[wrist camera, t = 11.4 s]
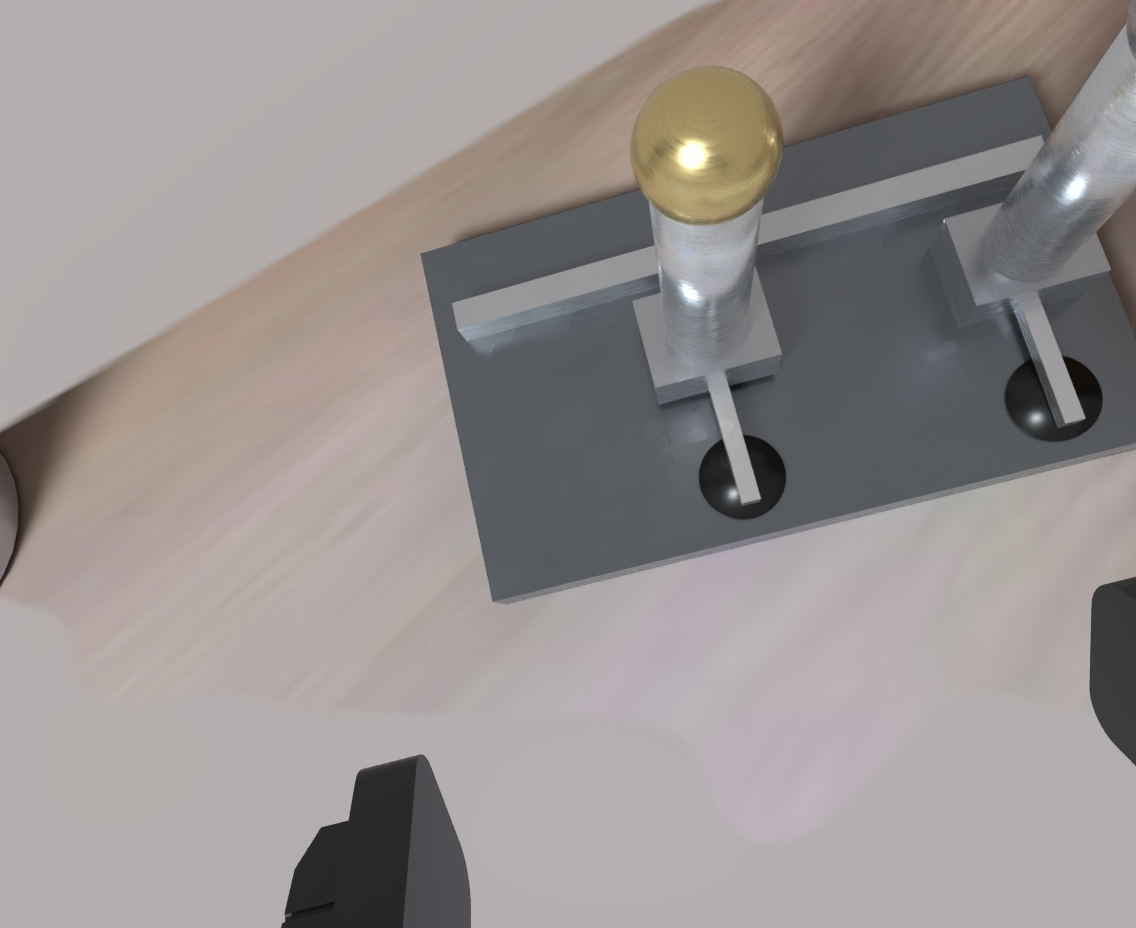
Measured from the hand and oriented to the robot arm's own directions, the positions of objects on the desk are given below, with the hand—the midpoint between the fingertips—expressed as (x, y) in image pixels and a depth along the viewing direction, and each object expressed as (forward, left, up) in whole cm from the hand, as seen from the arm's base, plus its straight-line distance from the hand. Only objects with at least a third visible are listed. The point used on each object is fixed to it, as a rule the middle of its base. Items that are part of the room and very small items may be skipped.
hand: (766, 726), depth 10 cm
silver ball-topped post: (+12, +8, -18) cm, 23 cm away
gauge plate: (+4, +10, -20) cm, 23 cm away
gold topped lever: (+2, +8, -17) cm, 19 cm away
